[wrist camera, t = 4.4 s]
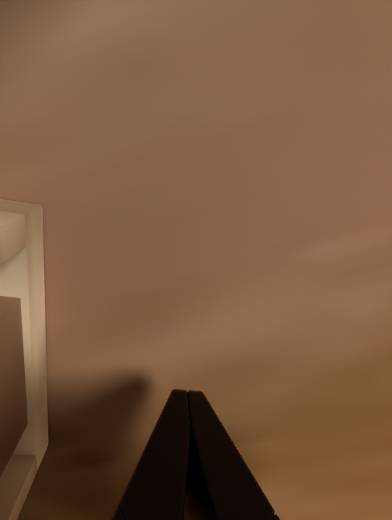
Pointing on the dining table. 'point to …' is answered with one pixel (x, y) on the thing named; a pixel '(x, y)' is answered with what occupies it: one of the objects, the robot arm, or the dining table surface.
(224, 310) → the dining table surface
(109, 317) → the dining table surface
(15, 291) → the trap tray
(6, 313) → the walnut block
